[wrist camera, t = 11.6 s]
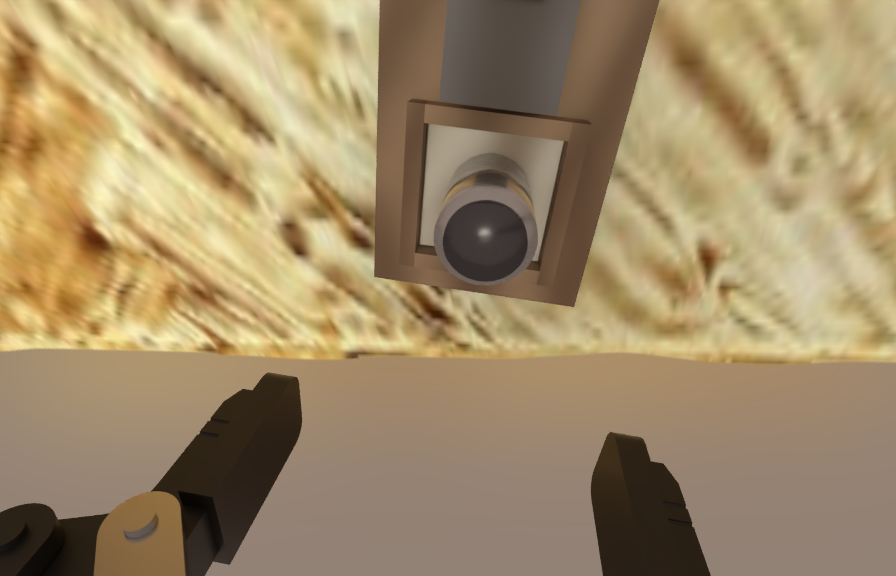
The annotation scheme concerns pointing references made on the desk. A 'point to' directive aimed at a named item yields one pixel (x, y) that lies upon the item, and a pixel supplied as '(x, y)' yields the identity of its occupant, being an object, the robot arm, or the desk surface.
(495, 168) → the lens
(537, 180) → the dock
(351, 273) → the desk surface
